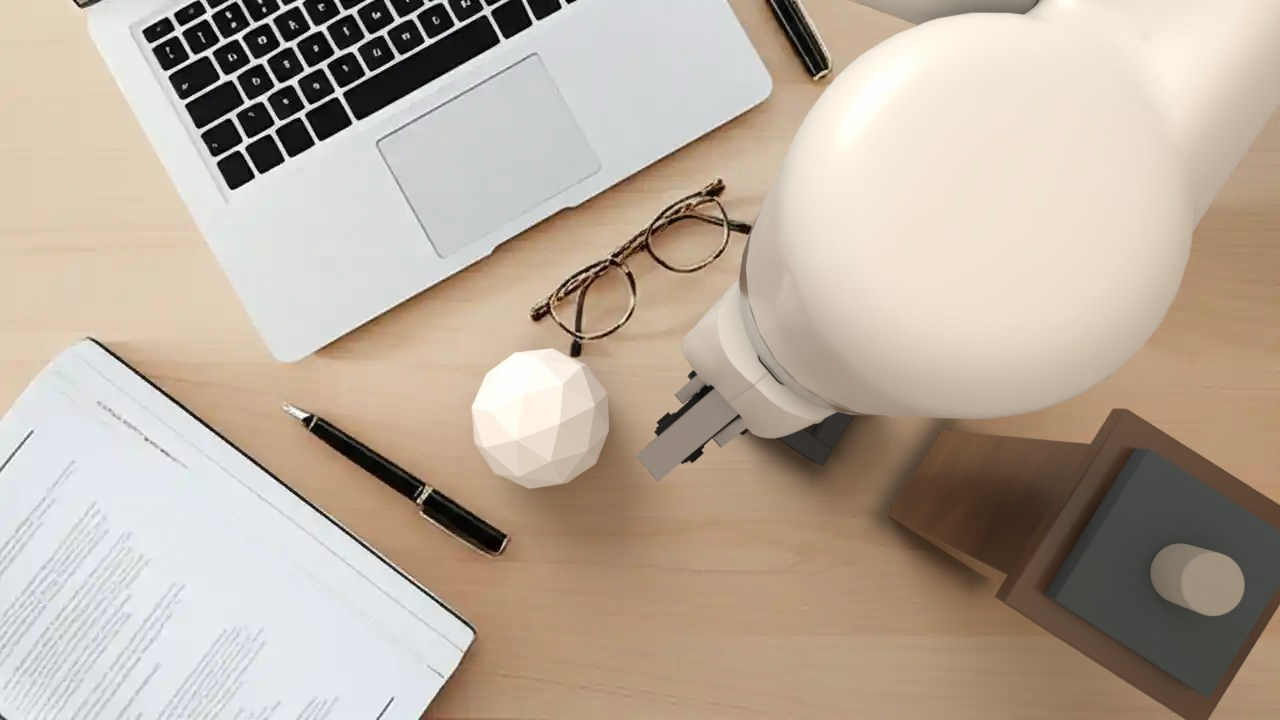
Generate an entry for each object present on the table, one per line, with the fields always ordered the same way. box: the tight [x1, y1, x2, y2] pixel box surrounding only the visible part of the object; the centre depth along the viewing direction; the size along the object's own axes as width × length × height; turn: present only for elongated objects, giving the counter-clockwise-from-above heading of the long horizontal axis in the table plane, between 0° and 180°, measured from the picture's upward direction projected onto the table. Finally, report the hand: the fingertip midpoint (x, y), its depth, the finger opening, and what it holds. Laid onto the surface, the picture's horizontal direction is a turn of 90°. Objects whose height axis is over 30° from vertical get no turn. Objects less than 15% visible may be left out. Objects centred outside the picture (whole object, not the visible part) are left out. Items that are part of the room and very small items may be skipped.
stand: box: [888, 407, 1280, 720], centre depth 54 cm, size 8×8×28 cm
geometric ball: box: [471, 347, 610, 490], centre depth 65 cm, size 8×8×8 cm
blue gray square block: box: [1044, 448, 1280, 698], centre depth 38 cm, size 6×6×4 cm
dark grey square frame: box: [775, 384, 856, 467], centre depth 66 cm, size 6×6×3 cm
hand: (803, 325), depth 49 cm, fingers open, 9 cm apart
